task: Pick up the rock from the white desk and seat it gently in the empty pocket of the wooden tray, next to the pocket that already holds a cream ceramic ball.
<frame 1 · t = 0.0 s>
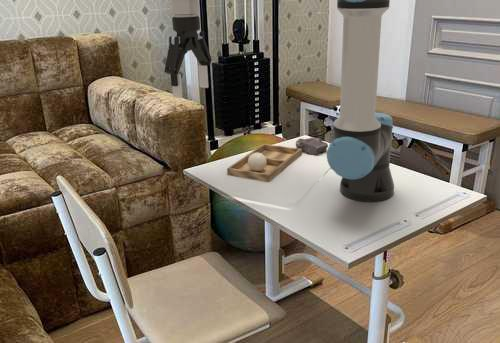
hand: (191, 92, 144), 28 cm above the table, fingers open, 13 cm apart
ceramic ball: (257, 170, 158), point 1 cm above the table, touching wooden tray
wooden tray: (266, 166, 164), on the table
rock: (312, 151, 178), on the table
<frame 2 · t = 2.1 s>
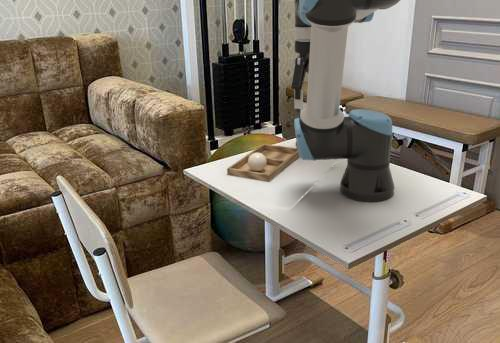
hand: (305, 103, 170), 17 cm above the table, fingers open, 13 cm apart
nothing on the table moved.
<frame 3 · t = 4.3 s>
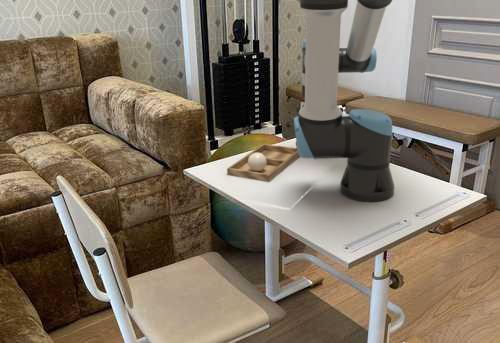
hand: (312, 147, 177), 1 cm above the table, fingers closed on rock, 9 cm apart
rock: (312, 150, 178), on the table, touching gripper
everything else where it was.
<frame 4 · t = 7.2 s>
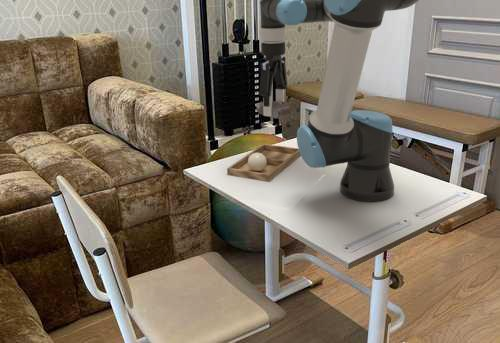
hand: (274, 112, 163), 17 cm above the table, fingers closed on rock, 9 cm apart
rock: (274, 115, 163), point 16 cm above the table, touching gripper
everything else where it was.
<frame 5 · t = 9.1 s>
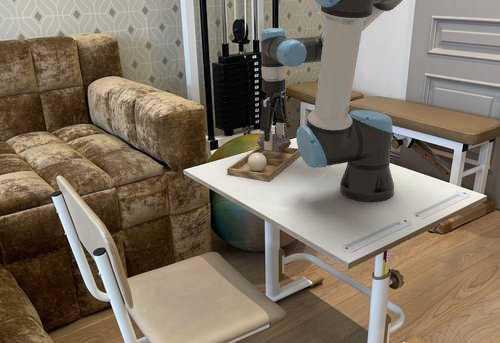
hand: (274, 145, 167), 5 cm above the table, fingers closed on rock, 9 cm apart
rock: (274, 148, 168), point 4 cm above the table, touching gripper
everything else where it was.
when the fingers open (4 cm above the table, at t = 10.3 s): rock drops 2 cm, resting on wooden tray.
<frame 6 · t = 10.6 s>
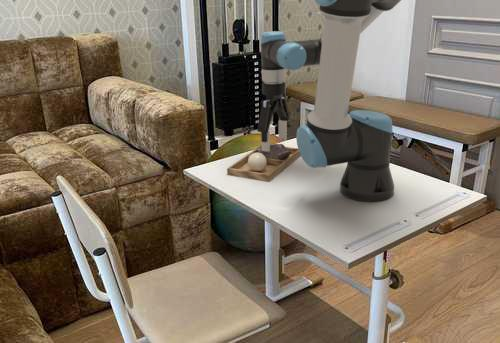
hand: (274, 144, 167), 6 cm above the table, fingers open, 13 cm apart
rock: (274, 158, 169), point 1 cm above the table, touching wooden tray
everything else where it was.
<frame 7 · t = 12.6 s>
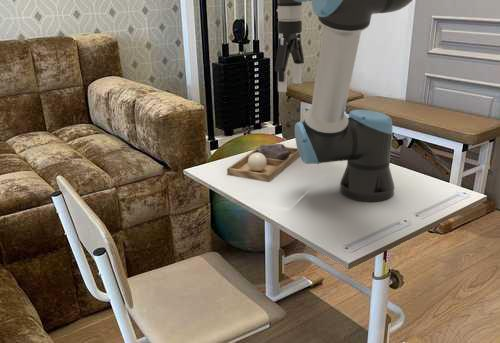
hand: (289, 87, 163), 24 cm above the table, fingers open, 13 cm apart
nothing on the table moved.
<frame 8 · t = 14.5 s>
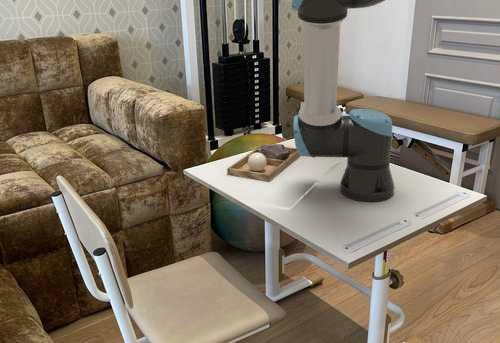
hand: (322, 68, 168), 29 cm above the table, fingers open, 13 cm apart
nothing on the table moved.
at the end: rock inside the target area on the wooden tray (0.5 cm from its centre), point 0.8 cm above the wooden tray's base; the gripper is holding nothing; ceramic ball 6.5 cm from the wooden tray (horizontally) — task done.
